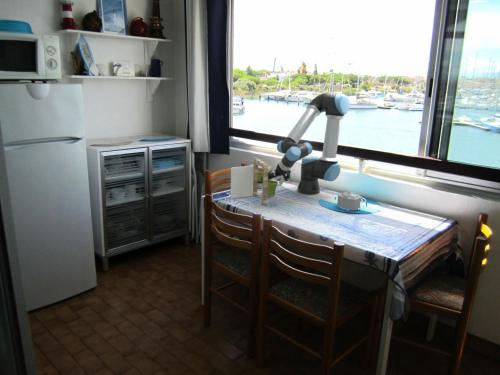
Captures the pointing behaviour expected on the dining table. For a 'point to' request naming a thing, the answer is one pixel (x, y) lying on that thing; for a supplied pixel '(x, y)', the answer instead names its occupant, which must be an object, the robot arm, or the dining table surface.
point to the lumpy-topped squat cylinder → (349, 200)
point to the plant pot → (271, 187)
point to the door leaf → (242, 181)
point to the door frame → (265, 179)
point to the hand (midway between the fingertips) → (270, 184)
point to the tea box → (261, 173)
